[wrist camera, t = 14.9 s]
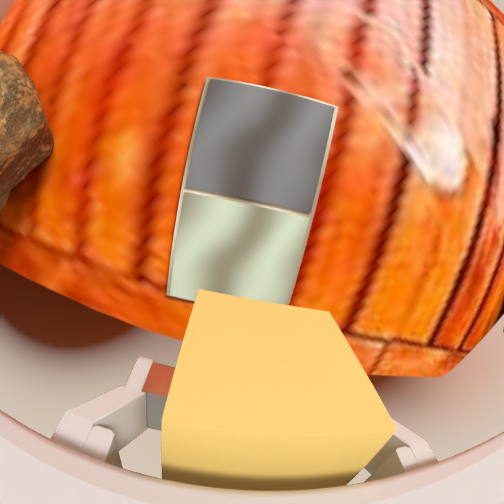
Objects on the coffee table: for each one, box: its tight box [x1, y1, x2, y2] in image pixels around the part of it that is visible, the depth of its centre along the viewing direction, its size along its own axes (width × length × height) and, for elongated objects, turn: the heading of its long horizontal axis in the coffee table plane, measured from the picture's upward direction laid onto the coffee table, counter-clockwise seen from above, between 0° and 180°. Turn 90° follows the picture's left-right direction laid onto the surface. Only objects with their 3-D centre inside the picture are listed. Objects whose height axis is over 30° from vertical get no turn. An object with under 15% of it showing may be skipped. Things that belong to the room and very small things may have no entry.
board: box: [166, 77, 338, 305], centre depth 24 cm, size 12×21×1 cm, turn 168°
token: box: [161, 289, 397, 491], centre depth 8 cm, size 5×5×6 cm
